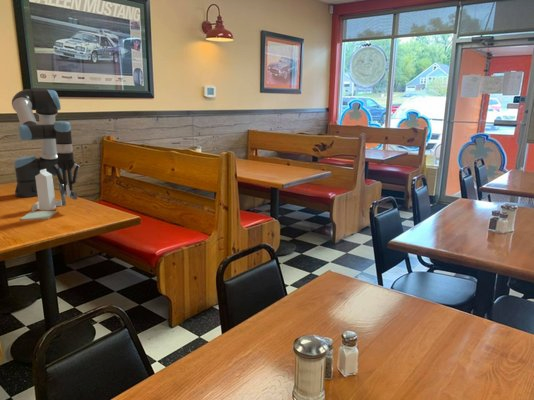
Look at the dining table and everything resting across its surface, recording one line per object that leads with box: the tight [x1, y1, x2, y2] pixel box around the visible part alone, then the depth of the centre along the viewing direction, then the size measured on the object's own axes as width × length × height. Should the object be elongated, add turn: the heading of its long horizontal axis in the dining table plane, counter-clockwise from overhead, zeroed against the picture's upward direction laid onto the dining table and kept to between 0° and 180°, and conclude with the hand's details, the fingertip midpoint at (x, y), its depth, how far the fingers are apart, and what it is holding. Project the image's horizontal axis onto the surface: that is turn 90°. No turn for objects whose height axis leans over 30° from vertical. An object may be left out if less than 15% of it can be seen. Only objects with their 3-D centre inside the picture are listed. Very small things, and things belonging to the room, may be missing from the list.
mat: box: [20, 210, 58, 221], centre depth 213 cm, size 13×13×1 cm
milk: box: [35, 169, 57, 211], centre depth 223 cm, size 6×6×22 cm
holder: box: [30, 193, 67, 212], centre depth 227 cm, size 14×14×7 cm
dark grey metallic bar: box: [58, 183, 78, 201], centre depth 224 cm, size 23×3×5 cm, turn 42°
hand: (69, 196), depth 217 cm, fingers closed
